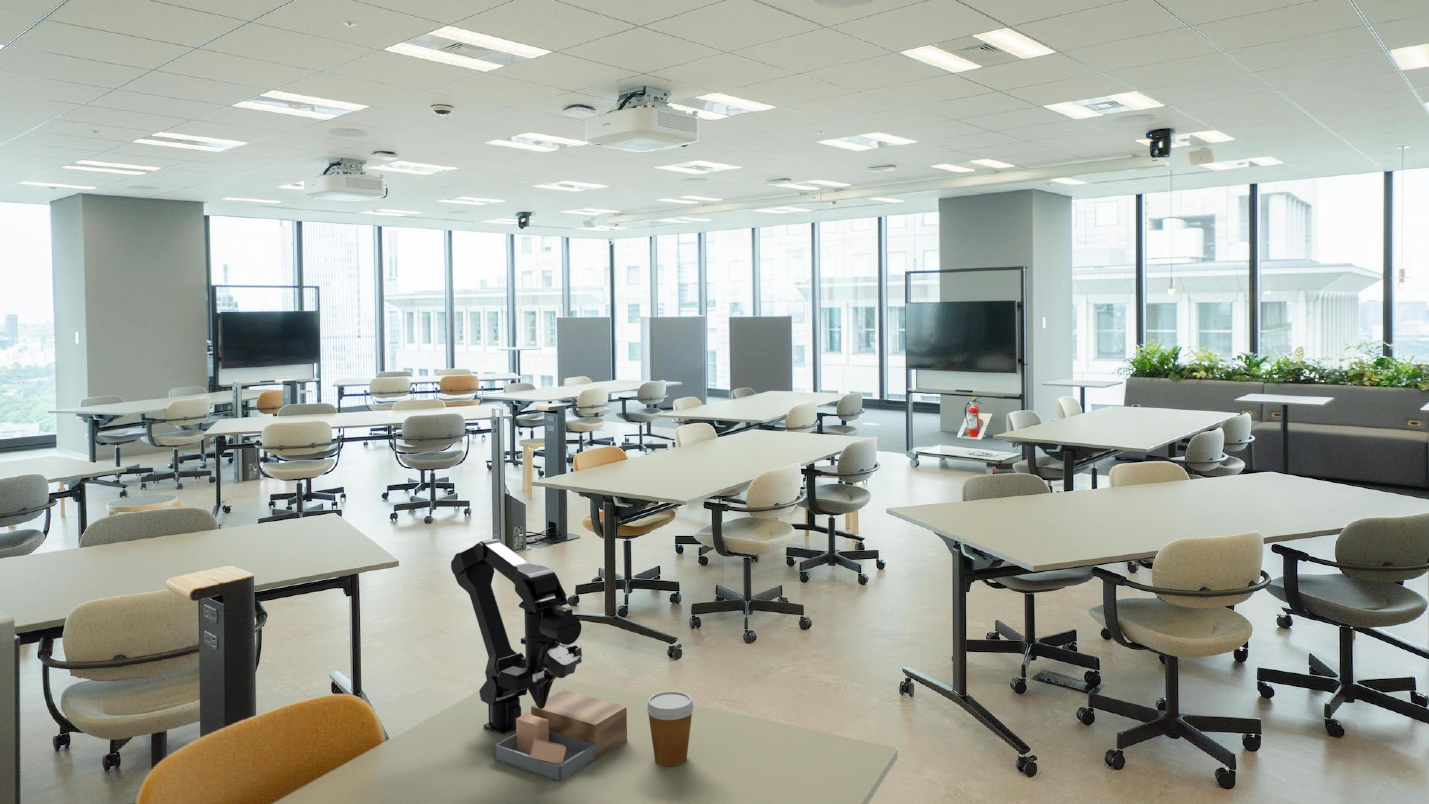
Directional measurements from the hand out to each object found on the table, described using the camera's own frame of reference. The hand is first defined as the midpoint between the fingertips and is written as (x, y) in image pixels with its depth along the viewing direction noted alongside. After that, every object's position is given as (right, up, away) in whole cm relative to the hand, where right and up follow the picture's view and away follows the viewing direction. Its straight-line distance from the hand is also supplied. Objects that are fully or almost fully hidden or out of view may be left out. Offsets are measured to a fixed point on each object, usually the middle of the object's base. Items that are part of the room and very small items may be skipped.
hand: (541, 708), depth 183 cm
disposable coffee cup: (+26, -8, -5) cm, 28 cm away
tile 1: (-1, -5, 0) cm, 5 cm away
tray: (+2, -8, -5) cm, 10 cm away
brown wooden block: (+7, -8, +4) cm, 11 cm away
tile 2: (+3, -4, -9) cm, 10 cm away
